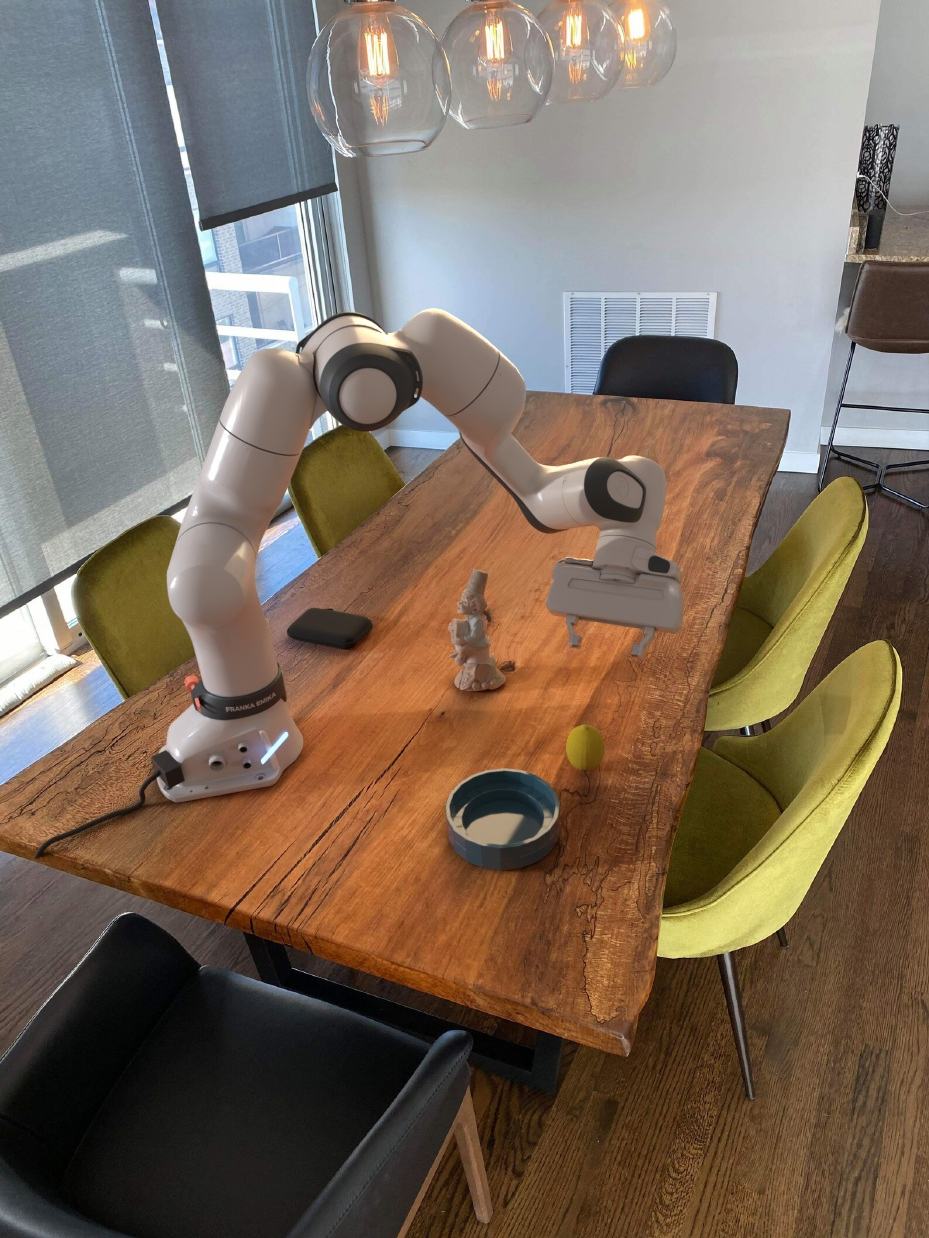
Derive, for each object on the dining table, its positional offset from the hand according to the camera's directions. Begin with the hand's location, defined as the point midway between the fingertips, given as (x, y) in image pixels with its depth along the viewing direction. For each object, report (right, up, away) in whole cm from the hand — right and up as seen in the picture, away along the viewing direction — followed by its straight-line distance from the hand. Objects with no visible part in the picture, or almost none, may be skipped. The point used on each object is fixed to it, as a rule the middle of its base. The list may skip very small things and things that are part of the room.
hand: (605, 652), depth 134 cm
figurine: (-18, -6, +21) cm, 28 cm away
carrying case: (-45, +2, +37) cm, 58 cm away
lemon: (-3, -17, 0) cm, 18 cm away
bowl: (-15, -24, -10) cm, 30 cm away
